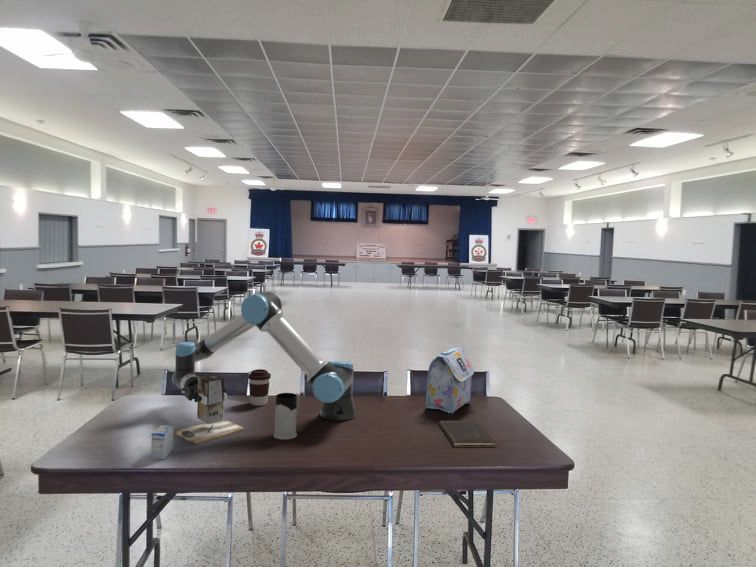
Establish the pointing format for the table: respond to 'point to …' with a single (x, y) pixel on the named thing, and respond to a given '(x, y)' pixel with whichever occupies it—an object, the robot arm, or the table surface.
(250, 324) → the robot arm
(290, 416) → the grey mug
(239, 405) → the table surface
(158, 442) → the medicine box
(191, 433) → the clipboard
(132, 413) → the table surface
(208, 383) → the coffee box
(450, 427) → the hardcover book
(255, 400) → the coffee cup
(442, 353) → the lunch bag
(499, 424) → the table surface
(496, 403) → the table surface
